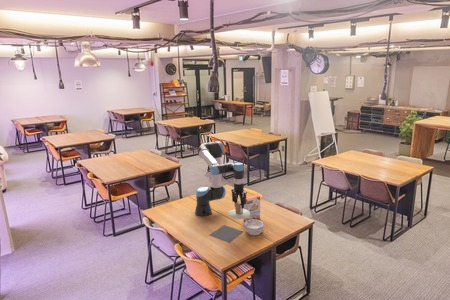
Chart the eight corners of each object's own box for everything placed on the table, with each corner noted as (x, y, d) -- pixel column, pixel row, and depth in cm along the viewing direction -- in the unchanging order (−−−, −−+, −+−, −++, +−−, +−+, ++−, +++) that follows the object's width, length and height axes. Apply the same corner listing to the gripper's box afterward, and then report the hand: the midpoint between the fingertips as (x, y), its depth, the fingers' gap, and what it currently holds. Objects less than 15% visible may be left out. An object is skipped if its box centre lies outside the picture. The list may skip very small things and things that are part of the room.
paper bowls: (263, 238, 238) (263, 228, 236) (243, 236, 241) (243, 227, 239) (264, 228, 253) (264, 219, 251) (245, 227, 256) (245, 218, 254)
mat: (208, 235, 244) (208, 235, 244) (223, 225, 259) (223, 224, 259) (229, 243, 232) (229, 242, 232) (244, 232, 248) (244, 231, 248)
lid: (223, 215, 240) (223, 203, 238) (236, 208, 253) (236, 196, 251) (241, 221, 230) (241, 209, 228) (254, 213, 243) (254, 201, 241)
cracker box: (247, 223, 262) (247, 200, 257) (243, 220, 267) (243, 197, 262) (260, 218, 270) (260, 196, 264) (256, 216, 275) (256, 194, 269)
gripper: (226, 182, 238) (227, 210, 243) (245, 186, 227) (245, 215, 233) (232, 179, 244) (233, 207, 249) (250, 183, 233) (251, 212, 239)
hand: (239, 211), depth 241 cm, fingers closed on lid, 4 cm apart
